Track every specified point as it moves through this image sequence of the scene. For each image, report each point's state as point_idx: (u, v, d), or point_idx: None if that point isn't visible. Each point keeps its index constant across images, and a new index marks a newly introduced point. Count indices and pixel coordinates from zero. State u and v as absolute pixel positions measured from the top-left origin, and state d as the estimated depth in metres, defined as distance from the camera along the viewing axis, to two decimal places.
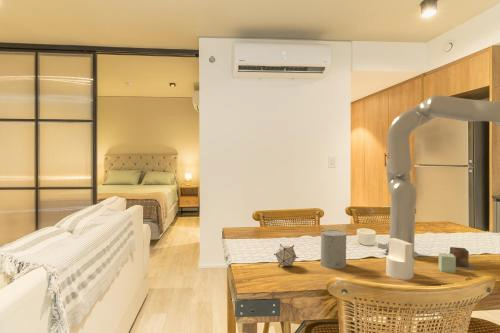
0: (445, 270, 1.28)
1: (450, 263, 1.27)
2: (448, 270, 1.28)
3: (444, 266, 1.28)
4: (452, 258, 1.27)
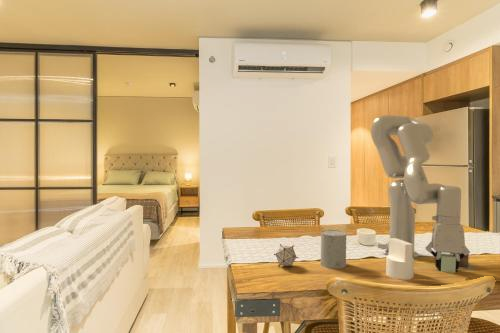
0: (445, 270, 1.28)
1: (450, 263, 1.27)
2: (448, 270, 1.27)
3: (444, 266, 1.28)
4: (452, 258, 1.27)
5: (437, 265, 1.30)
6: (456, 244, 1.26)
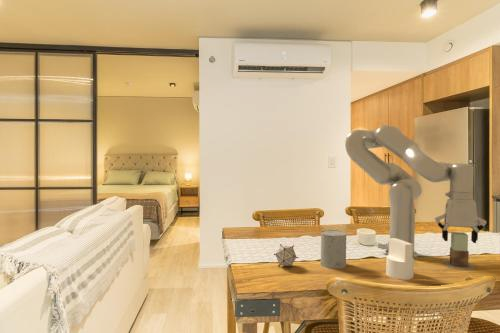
0: (458, 248, 1.34)
1: (463, 241, 1.33)
2: (460, 248, 1.33)
3: (457, 244, 1.34)
4: (464, 236, 1.33)
5: (444, 236, 1.36)
6: (469, 218, 1.32)
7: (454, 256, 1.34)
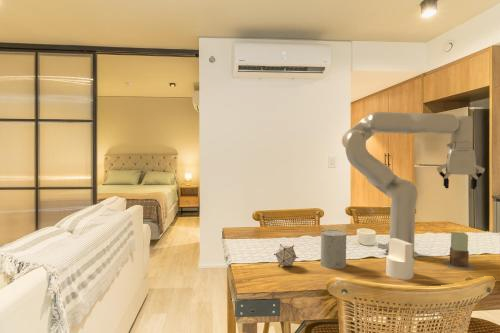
0: (458, 248, 1.34)
1: (463, 241, 1.33)
2: (460, 248, 1.33)
3: (457, 244, 1.34)
4: (464, 236, 1.33)
5: (445, 184, 1.47)
6: (468, 166, 1.43)
7: (454, 256, 1.34)
